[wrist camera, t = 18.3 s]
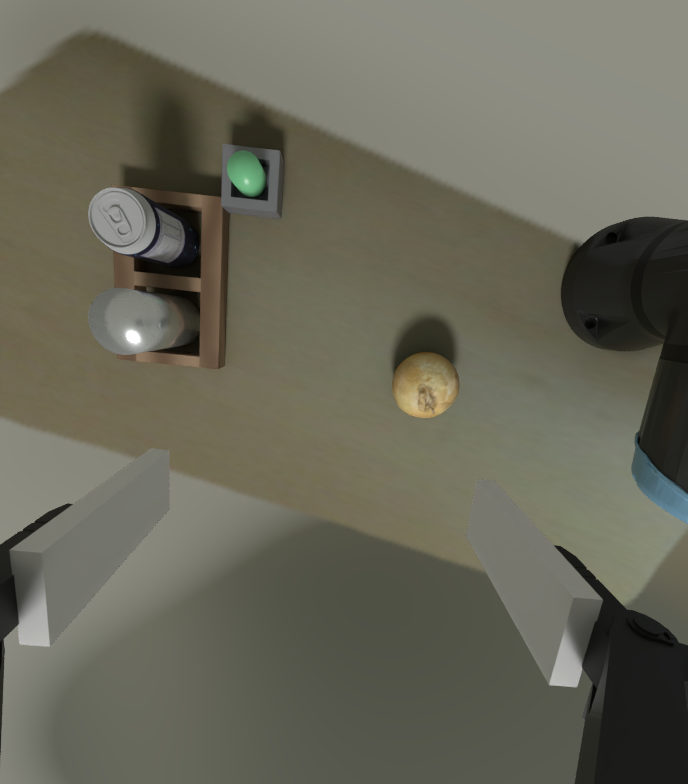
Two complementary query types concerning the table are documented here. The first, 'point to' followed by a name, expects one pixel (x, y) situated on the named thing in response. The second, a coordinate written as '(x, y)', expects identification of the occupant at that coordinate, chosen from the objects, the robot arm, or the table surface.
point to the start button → (247, 173)
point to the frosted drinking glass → (142, 321)
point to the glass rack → (188, 279)
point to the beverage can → (142, 228)
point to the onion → (425, 384)
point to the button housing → (272, 195)
